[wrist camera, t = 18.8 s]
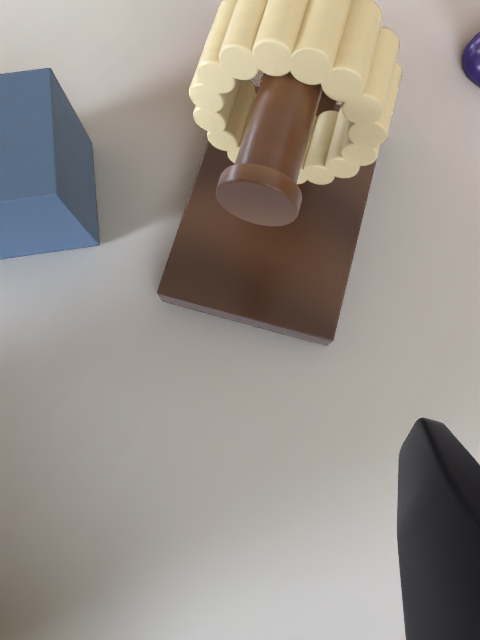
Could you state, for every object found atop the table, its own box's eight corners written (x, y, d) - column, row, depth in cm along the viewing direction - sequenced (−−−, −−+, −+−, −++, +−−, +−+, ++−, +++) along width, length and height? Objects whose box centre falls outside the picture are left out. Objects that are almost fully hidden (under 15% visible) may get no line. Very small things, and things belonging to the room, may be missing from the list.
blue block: (100, 245, 24) (57, 194, 18) (-20, 262, 23) (-98, 215, 18) (92, 142, 25) (50, 66, 20) (-21, 157, 25) (-93, 85, 20)
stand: (327, 346, 22) (437, 249, 10) (161, 301, 23) (58, 154, 10) (378, 133, 25) (516, -162, 12) (229, 98, 26) (215, -217, 13)
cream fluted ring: (357, 199, 18) (419, 70, 11) (201, 162, 19) (173, 19, 12) (370, 147, 19) (436, -6, 12) (218, 113, 19) (200, -51, 13)
